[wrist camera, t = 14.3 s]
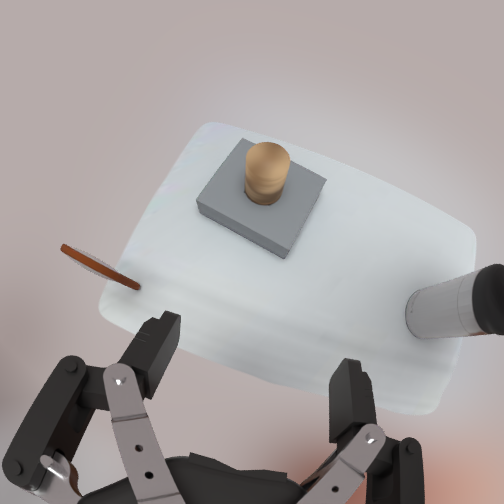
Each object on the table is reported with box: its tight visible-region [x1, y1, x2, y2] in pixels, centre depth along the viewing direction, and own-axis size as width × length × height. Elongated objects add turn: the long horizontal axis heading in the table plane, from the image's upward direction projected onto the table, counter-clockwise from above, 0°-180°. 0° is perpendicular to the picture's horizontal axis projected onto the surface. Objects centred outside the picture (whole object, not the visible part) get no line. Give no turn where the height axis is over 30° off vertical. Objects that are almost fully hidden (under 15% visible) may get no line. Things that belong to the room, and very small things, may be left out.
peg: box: [245, 142, 290, 205], centre depth 41 cm, size 6×6×13 cm
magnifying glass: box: [61, 244, 140, 290], centre depth 33 cm, size 9×2×20 cm, turn 68°
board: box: [196, 138, 327, 259], centre depth 45 cm, size 16×14×5 cm
